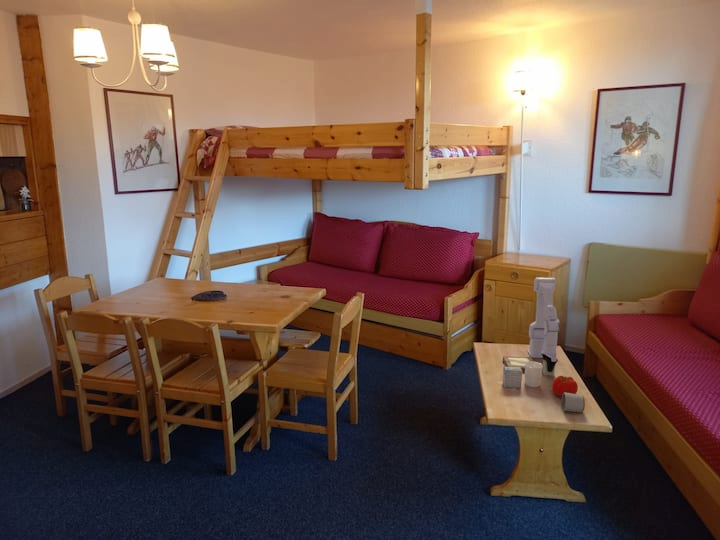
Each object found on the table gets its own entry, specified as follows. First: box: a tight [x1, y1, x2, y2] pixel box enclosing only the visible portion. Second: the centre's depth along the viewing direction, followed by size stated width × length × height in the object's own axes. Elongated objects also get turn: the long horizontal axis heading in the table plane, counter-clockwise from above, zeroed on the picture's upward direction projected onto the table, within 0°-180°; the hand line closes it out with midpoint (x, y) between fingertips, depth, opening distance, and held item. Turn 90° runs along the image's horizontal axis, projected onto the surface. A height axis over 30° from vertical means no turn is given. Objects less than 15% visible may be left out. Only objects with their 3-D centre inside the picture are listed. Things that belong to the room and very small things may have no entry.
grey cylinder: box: [561, 392, 586, 413], centre depth 219 cm, size 11×8×8 cm
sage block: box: [542, 360, 556, 376], centre depth 254 cm, size 4×4×6 cm
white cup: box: [524, 361, 543, 388], centre depth 242 cm, size 8×8×10 cm
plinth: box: [502, 356, 533, 373], centre depth 263 cm, size 14×14×2 cm
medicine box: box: [502, 366, 523, 389], centre depth 241 cm, size 8×4×9 cm, turn 84°
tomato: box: [551, 375, 579, 398], centre depth 231 cm, size 11×11×9 cm
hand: (548, 369), depth 254 cm, fingers closed on sage block, 4 cm apart
